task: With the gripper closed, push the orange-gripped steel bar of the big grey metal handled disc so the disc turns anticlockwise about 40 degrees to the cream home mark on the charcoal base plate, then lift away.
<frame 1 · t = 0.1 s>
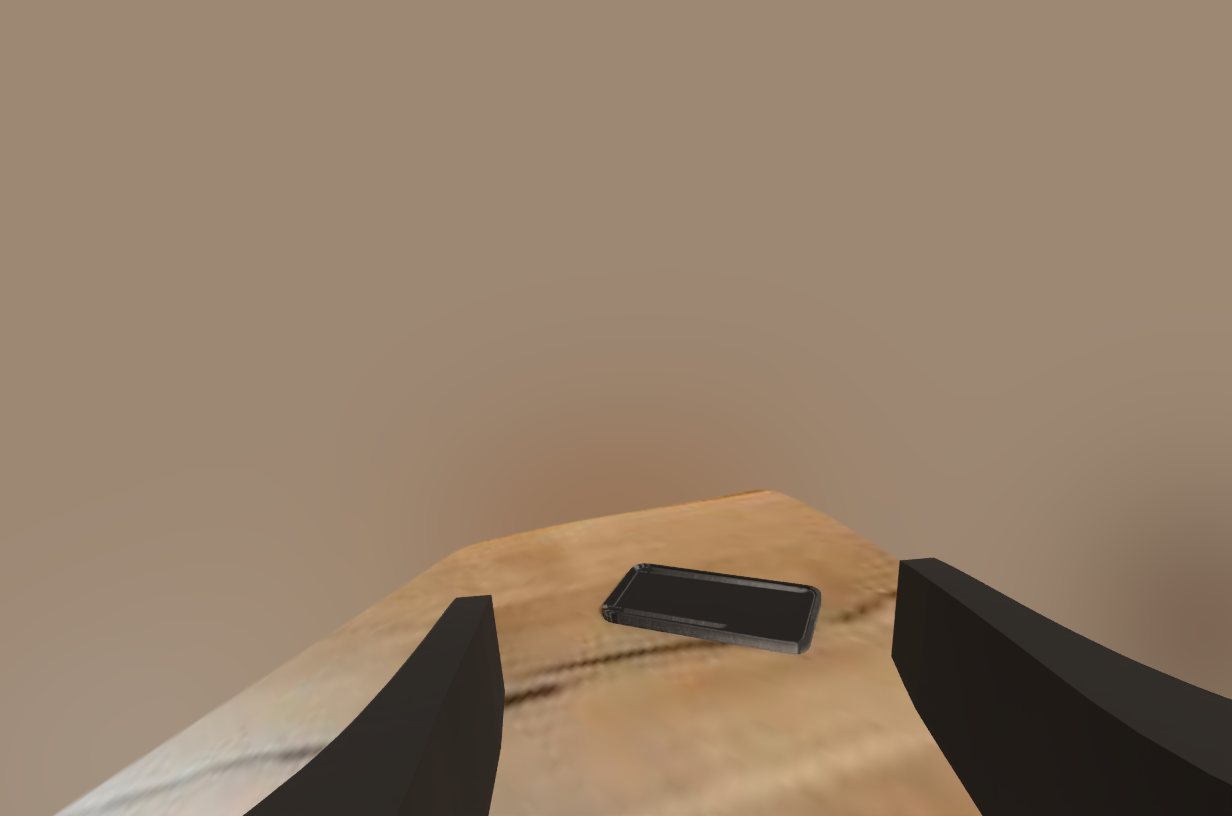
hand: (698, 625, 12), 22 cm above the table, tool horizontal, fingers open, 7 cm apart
phone: (711, 615, 52), on the table
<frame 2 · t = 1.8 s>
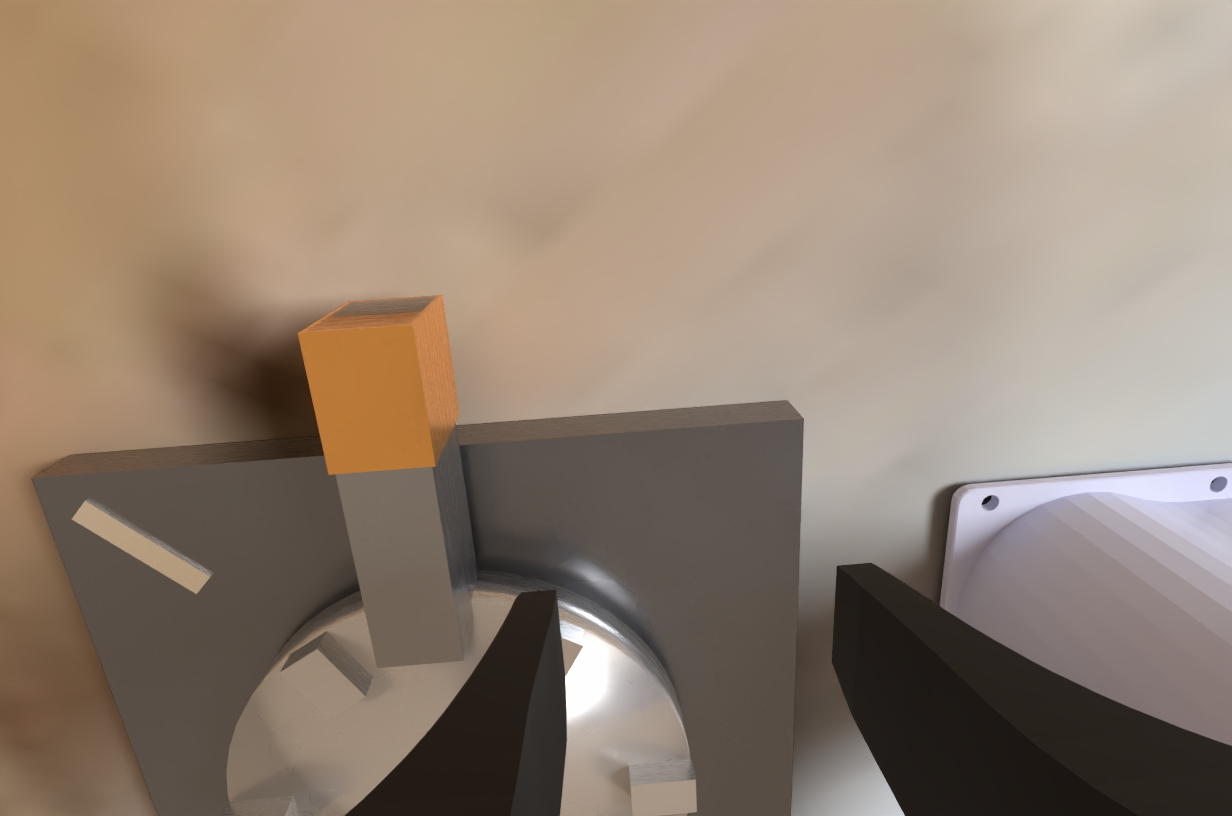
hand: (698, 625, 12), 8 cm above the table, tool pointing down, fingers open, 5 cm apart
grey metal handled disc: (445, 694, 18), point 3 cm above the table, hinge at 0.0°
base plate: (479, 710, 23), on the table
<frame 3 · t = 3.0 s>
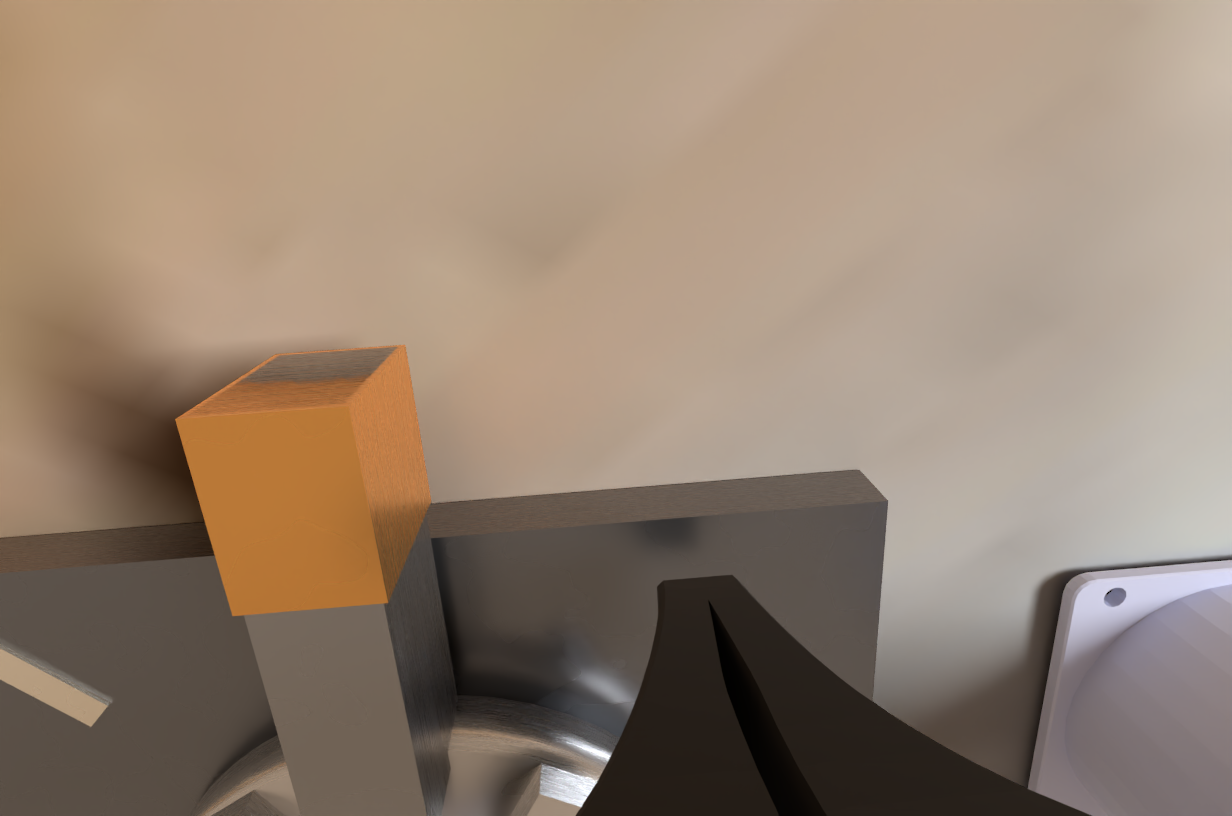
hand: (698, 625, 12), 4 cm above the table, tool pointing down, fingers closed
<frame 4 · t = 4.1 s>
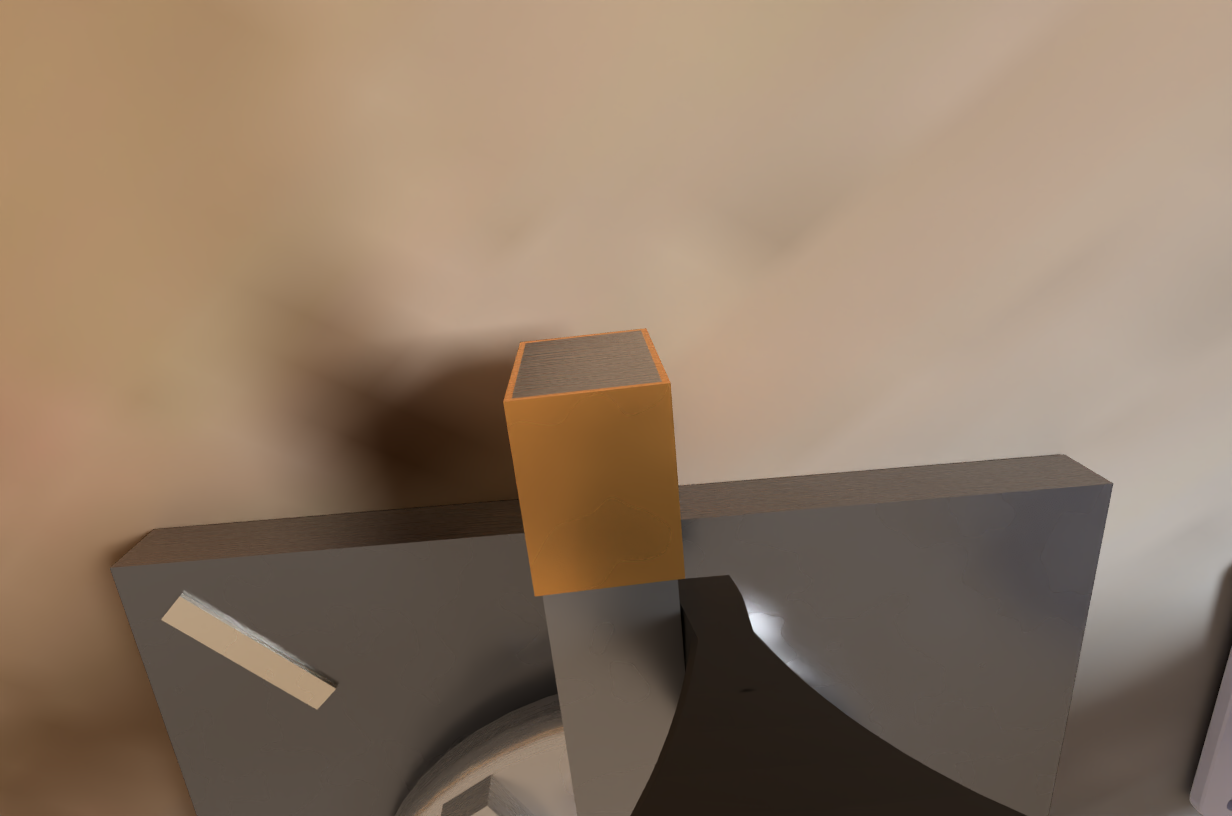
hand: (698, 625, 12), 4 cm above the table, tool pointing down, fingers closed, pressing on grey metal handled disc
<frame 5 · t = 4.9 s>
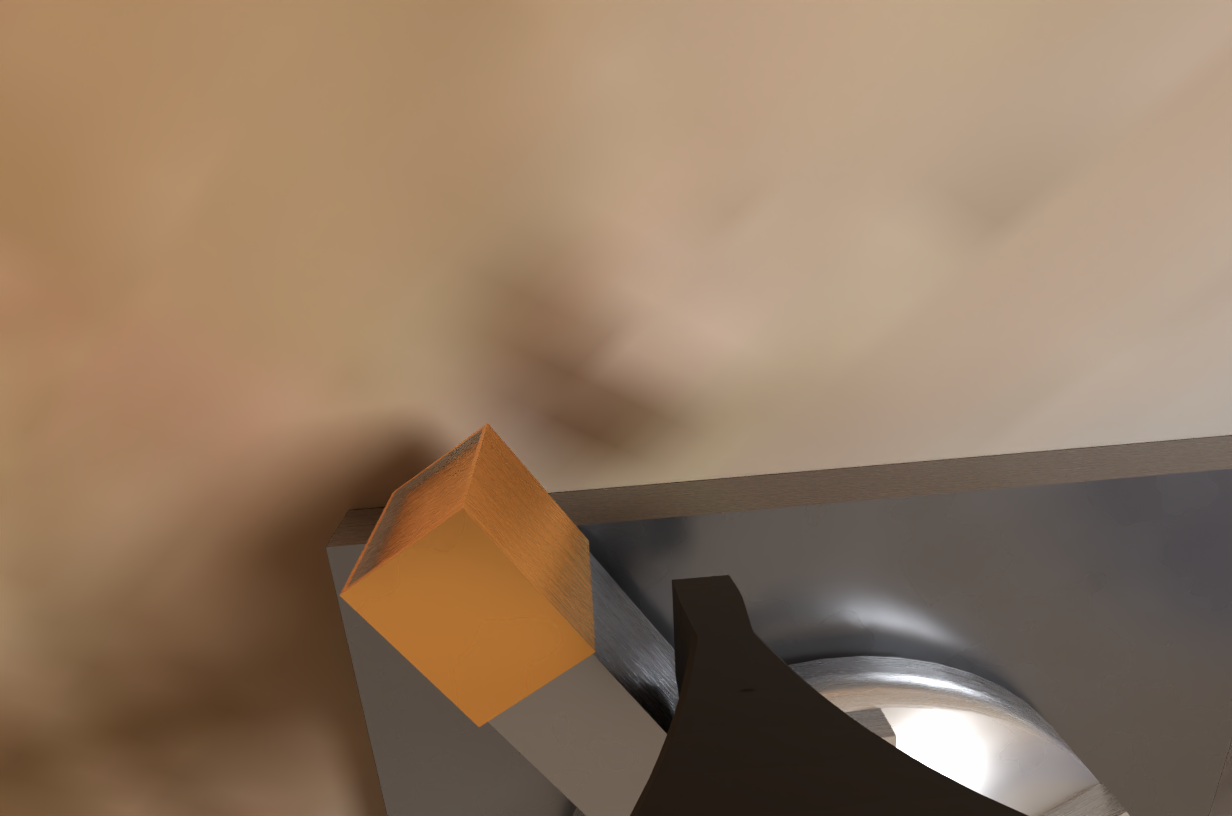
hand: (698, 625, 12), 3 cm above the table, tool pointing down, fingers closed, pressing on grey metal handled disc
base plate: (799, 811, 19), on the table
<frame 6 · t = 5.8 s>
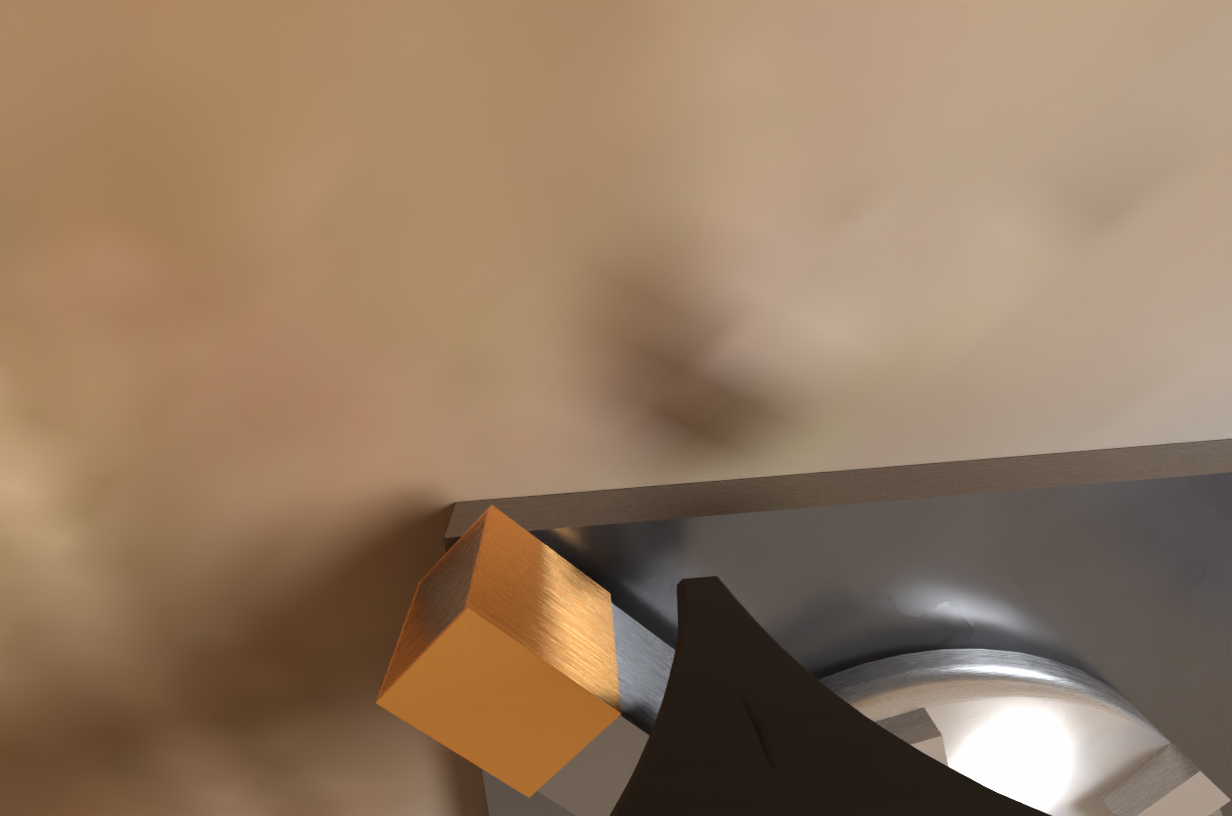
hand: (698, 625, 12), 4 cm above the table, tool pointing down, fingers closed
base plate: (880, 804, 19), on the table
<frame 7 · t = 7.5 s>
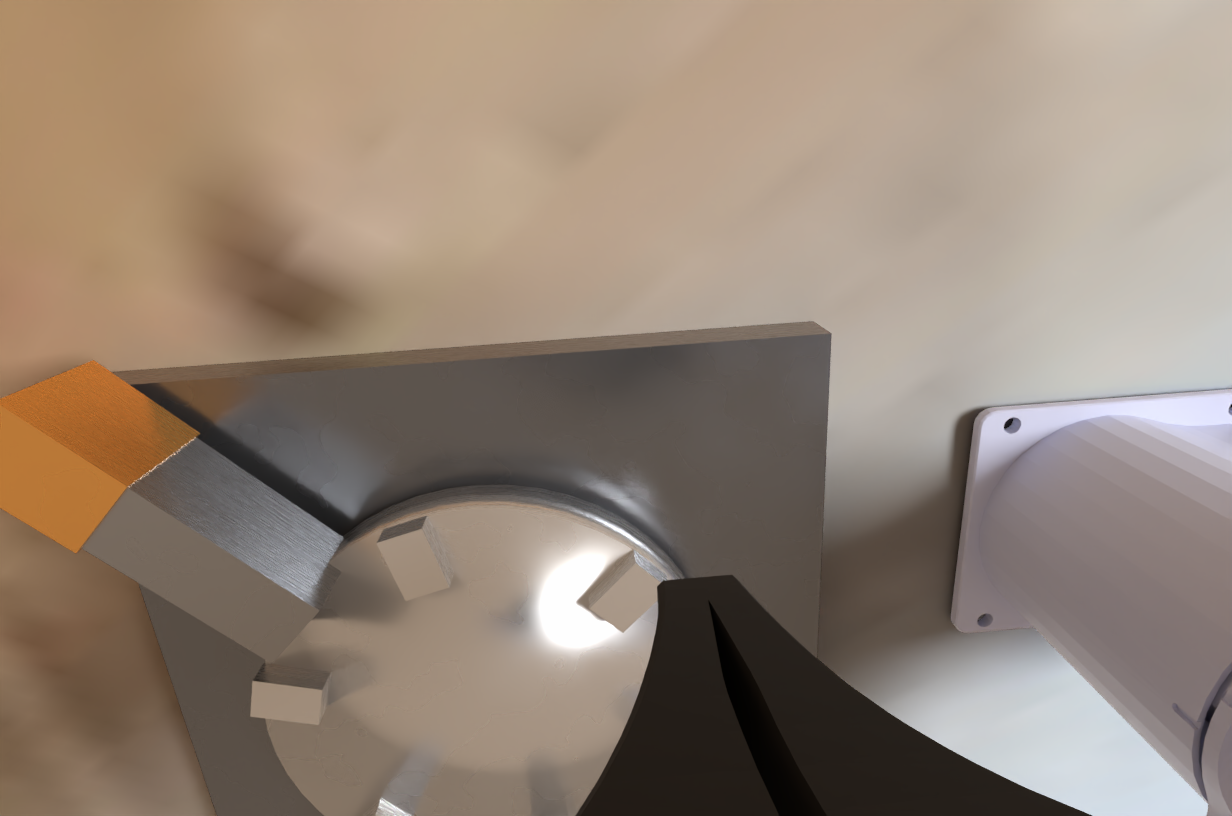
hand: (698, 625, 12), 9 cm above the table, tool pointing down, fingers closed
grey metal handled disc: (387, 645, 19), point 3 cm above the table, hinge at 44.2°
base plate: (506, 637, 23), on the table
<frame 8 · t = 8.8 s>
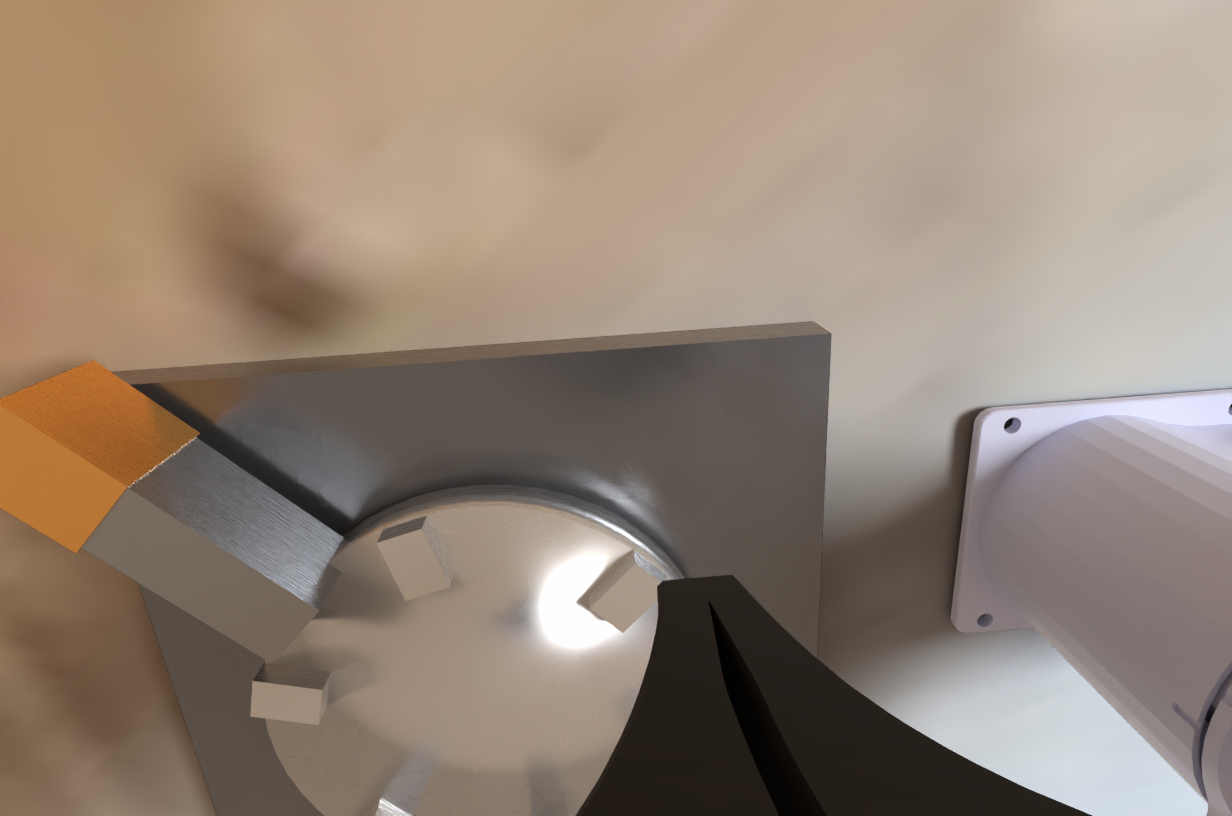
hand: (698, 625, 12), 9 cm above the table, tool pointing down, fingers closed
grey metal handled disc: (387, 645, 19), point 3 cm above the table, hinge at 44.2°
base plate: (506, 637, 23), on the table
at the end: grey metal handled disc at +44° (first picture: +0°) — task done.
